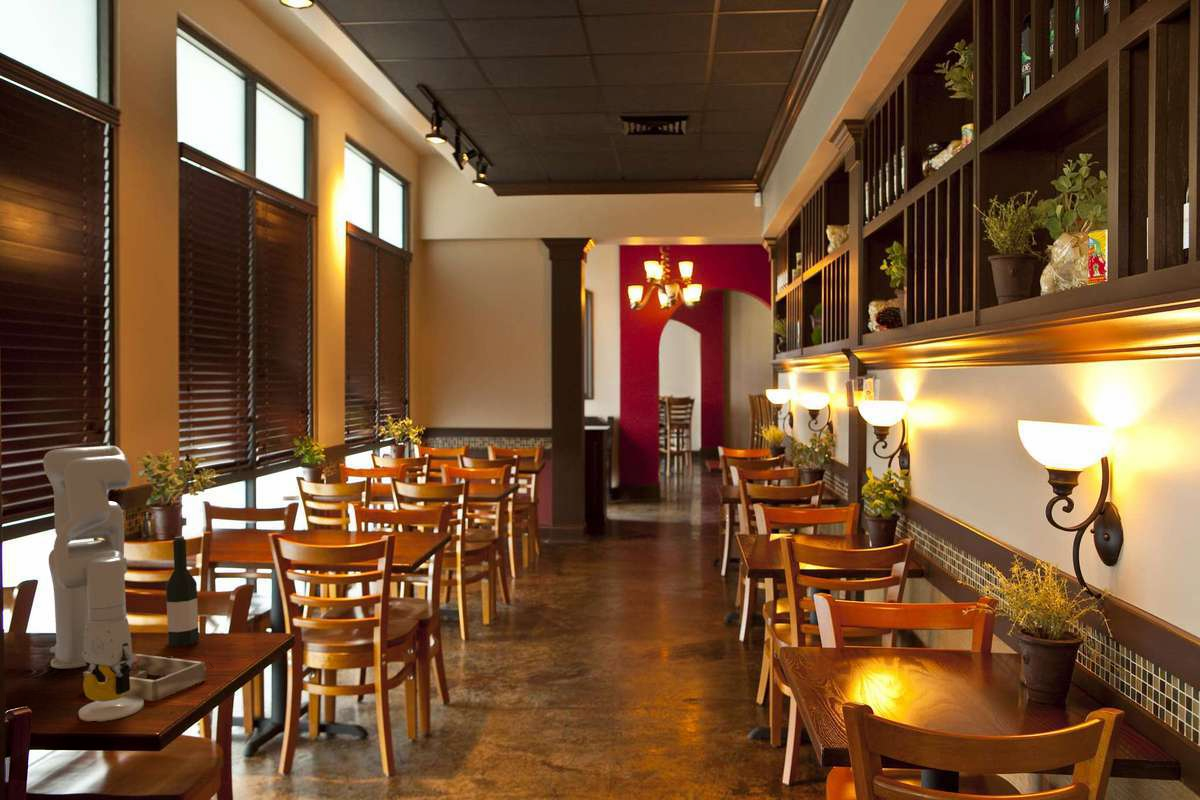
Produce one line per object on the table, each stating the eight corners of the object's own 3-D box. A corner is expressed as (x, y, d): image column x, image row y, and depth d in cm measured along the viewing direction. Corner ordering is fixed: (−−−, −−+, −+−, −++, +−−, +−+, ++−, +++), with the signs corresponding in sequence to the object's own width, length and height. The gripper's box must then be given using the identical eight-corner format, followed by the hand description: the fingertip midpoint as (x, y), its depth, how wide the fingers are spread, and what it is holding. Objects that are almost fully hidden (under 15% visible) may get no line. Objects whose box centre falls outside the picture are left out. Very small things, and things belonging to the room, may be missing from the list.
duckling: (139, 690, 213) (138, 648, 212) (142, 697, 208) (140, 654, 208) (83, 701, 207) (81, 657, 207) (84, 708, 202) (82, 663, 202)
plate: (65, 717, 204) (64, 712, 204) (115, 697, 216) (115, 692, 216) (107, 724, 199) (107, 719, 199) (156, 703, 211) (156, 698, 211)
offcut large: (101, 690, 223) (101, 681, 223) (131, 678, 231) (131, 669, 231) (117, 691, 221) (117, 682, 221) (147, 679, 230) (146, 671, 230)
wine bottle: (174, 639, 263) (169, 535, 262) (204, 637, 264) (199, 533, 263) (162, 647, 255) (158, 540, 254) (193, 646, 256) (189, 539, 254)
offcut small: (107, 680, 224) (107, 671, 223) (124, 671, 229) (124, 663, 229) (122, 680, 223) (122, 672, 223) (139, 672, 229) (138, 664, 229)
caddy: (84, 690, 221) (83, 672, 221) (136, 671, 235) (135, 653, 235) (155, 701, 213) (154, 682, 212) (205, 680, 227) (204, 662, 226)
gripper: (64, 613, 207) (68, 692, 207) (121, 620, 200) (125, 700, 201) (94, 605, 213) (97, 681, 214) (149, 611, 207) (153, 689, 208)
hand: (110, 690), depth 207 cm, fingers closed on duckling, 6 cm apart
